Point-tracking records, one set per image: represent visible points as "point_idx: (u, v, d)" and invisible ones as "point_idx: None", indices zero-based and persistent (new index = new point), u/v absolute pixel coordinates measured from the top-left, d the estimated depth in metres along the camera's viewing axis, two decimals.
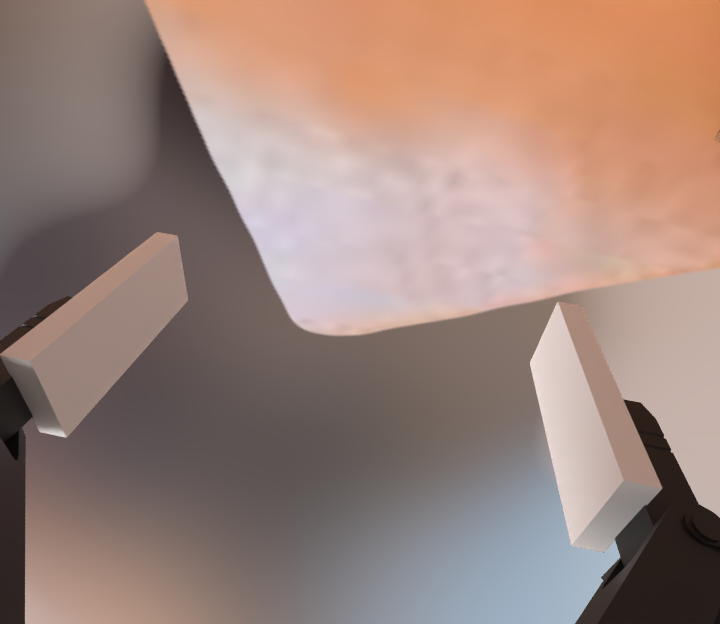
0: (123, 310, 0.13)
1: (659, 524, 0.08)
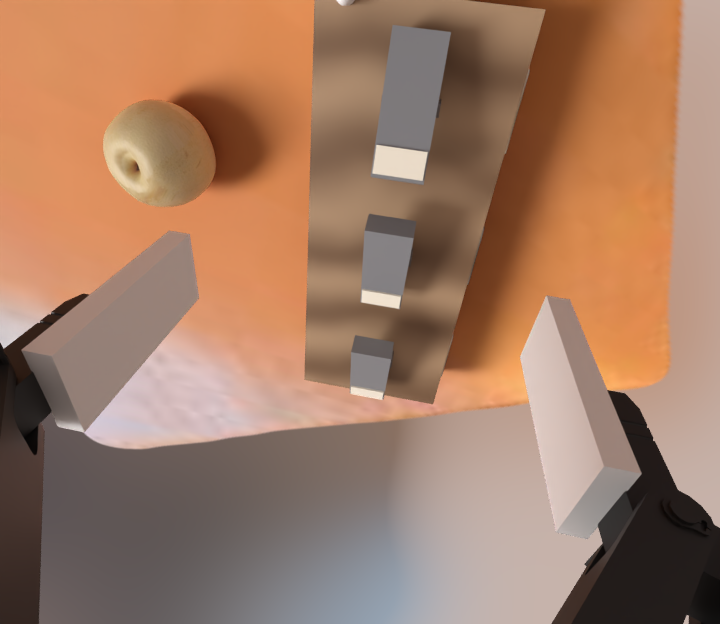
0: (138, 307, 0.13)
1: (638, 509, 0.08)
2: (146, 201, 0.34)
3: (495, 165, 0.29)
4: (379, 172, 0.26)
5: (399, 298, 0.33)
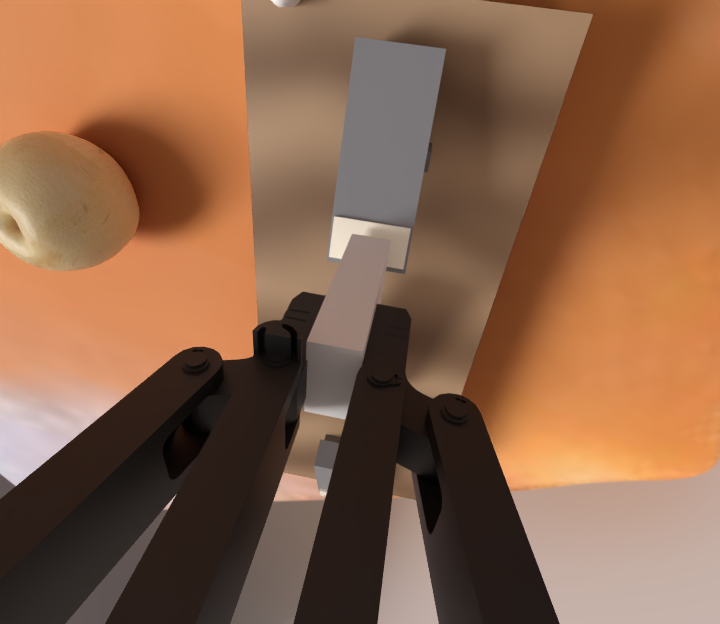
0: None
1: (353, 390, 0.10)
2: (39, 266, 0.25)
3: (509, 232, 0.20)
4: (339, 256, 0.17)
5: None
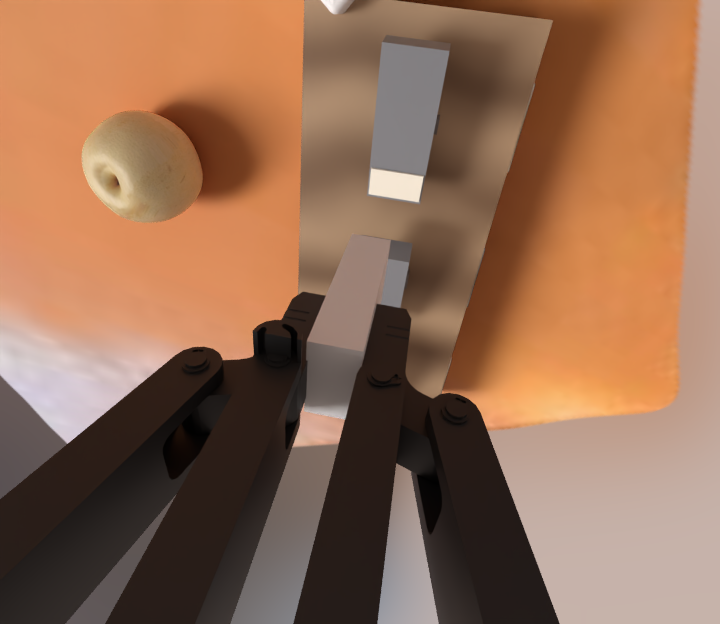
0: None
1: (352, 390, 0.10)
2: (127, 217, 0.32)
3: (497, 184, 0.27)
4: (375, 193, 0.26)
5: None
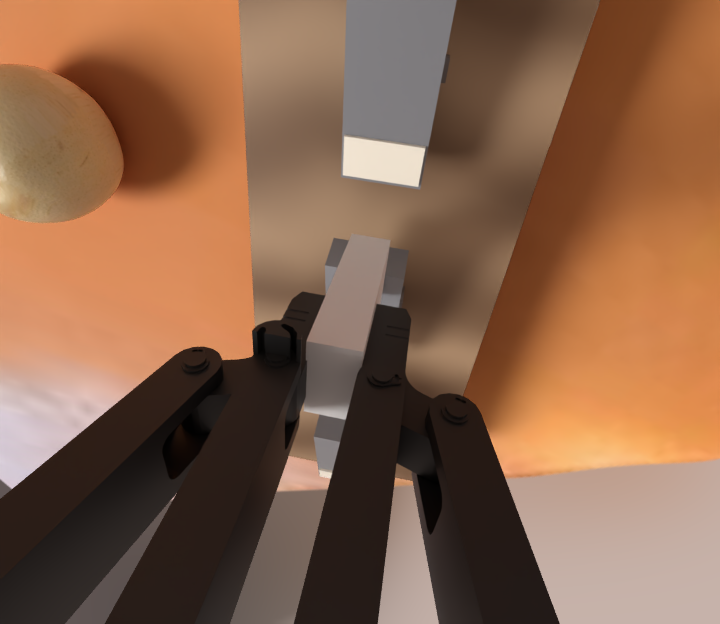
0: None
1: (353, 390, 0.10)
2: (10, 215, 0.23)
3: (534, 164, 0.18)
4: (353, 174, 0.17)
5: None
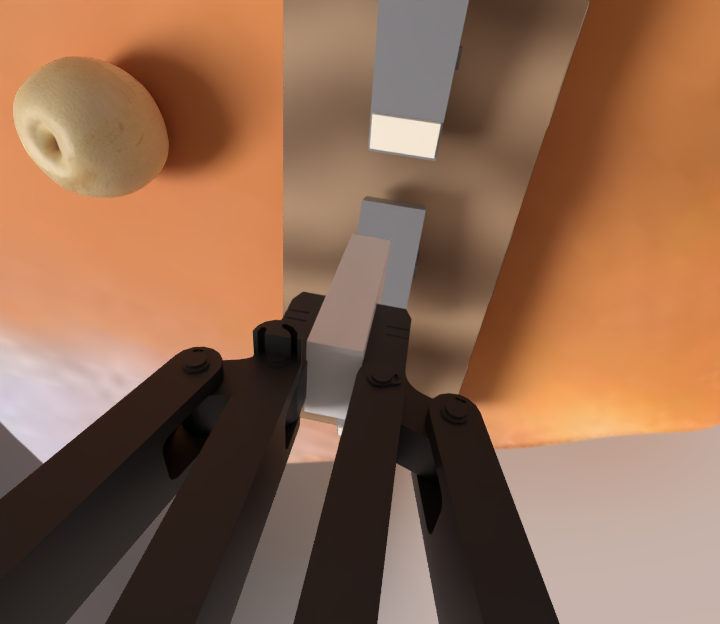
0: None
1: (352, 390, 0.10)
2: (73, 189, 0.26)
3: (534, 142, 0.21)
4: (379, 147, 0.20)
5: None
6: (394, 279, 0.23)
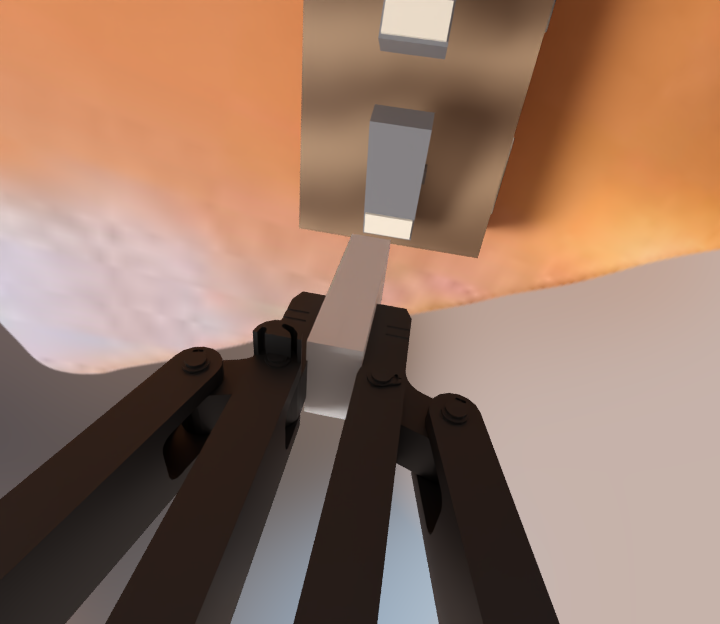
0: None
1: (352, 390, 0.10)
2: None
3: None
4: None
5: (450, 8, 0.19)
6: None
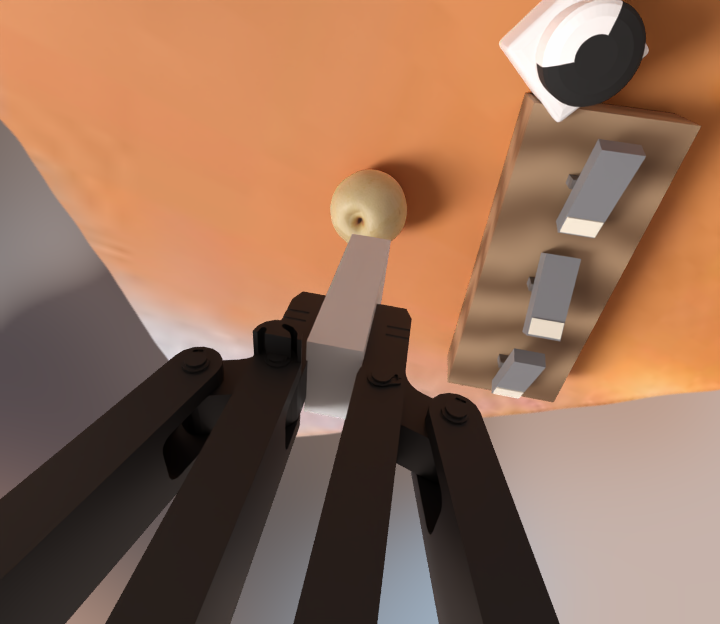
0: None
1: (352, 390, 0.10)
2: None
3: (643, 225, 0.39)
4: (565, 231, 0.38)
5: (562, 326, 0.41)
6: (561, 296, 0.41)
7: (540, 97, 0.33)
